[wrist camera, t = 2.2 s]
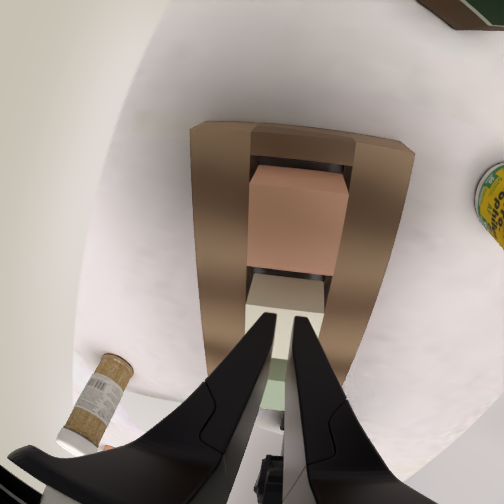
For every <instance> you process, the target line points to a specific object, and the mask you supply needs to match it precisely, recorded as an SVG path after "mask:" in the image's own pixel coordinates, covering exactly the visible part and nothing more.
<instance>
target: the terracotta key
mask: <svg viewBox="0 0 504 504" xmlns="http://www.w3.org/2000/svg"><path fill="white" fill-rule="evenodd" d="M348 197H349V193H348V190H347V187H346V184H345V181H344V178H343V175H342V174H339V173H332V172H324V171H316V170H307V169H298V168H289V167H278V166H267V165H259V166H258V168H257V170H256V172H255V174H254V175H253V177H252V179H251V181H250V183H249V210H248V242H247V266H252V267H260V268H268V269H277V270H285V271H294V272H302V273H311V274H319V275H328V276H333V274H334V270H335V265H336V260H337V256H338V251H339V246H340V241H341V236H342V230H343V225H344V220H345V214H346V209H347V203H348Z"/></svg>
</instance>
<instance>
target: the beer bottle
mask: <svg viewBox="0 0 504 504" xmlns="http://www.w3.org/2000/svg"><path fill="white" fill-rule="evenodd" d="M417 1H419V2H420V3H422V4H423V5H424V6H426V7H427V8H428V9H430V10H431V11H433V12H434V13H435V14H437V15H438V16H439V17H440V18H442V19H443V20H444V21H446V22H447V23H448V24H449V25H450V26H452V27H453V28H454V29H455V30H485V31H504V0H417Z"/></svg>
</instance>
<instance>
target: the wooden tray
mask: <svg viewBox="0 0 504 504" xmlns="http://www.w3.org/2000/svg"><path fill="white" fill-rule="evenodd" d="M190 155H191V182H192V203H193V221H194V237H195V251H196V264H197V277H198V288H199V299H200V310H201V320H202V330H203V339H204V348H205V356H206V365H207V373H208V376H209V375H210V374H211V373H212V371H213V370H214V369H215V368H216V367H217V366H218V365H219V364H220V362H221V361H222V360H223V359H224V358H225V357H226V356H227V354H228V353H229V352H230V351H231V350H232V349H233V348H234V346H235V345H236V344H237V343H238V342H239V341H240V340H241V338H242V337H243V336H244V335H245V311H246V301H247V298H248V294H249V290H250V287H251V283H252V279H253V267H252V266H247V242H248V210H249V183H250V181H251V179H252V177H253V175H254V174H255V172H256V170H257V164H258V156H268V157H279V158H290V159H299V160H308V161H317V162H325V163H333V164H340V165H345V166H344V173H343V178H344V181H345V184H346V187H347V190H348V193H349V197H348V203H347V209H346V214H345V220H344V225H343V230H342V236H341V241H340V246H339V251H338V256H337V260H336V265H335V270H334V274H333V276H328V275H326V276H325V281H324V317H323V321H322V325H321V329H320V333H319V337H318V339H319V341H320V343H321V345H322V347H323V349H324V352H325V354H326V356H327V358H328V360H329V362H330V364H331V366H332V368H333V370H334V372H335V374H336V376H337V378H338V380H339V383H340V385H341V387H342V385H343V382H344V380H345V378H346V376H347V373H348V371H349V369H350V366H351V364H352V362H353V359H354V357H355V354H356V352H357V350H358V347H359V345H360V342H361V340H362V337H363V334H364V332H365V329H366V327H367V324H368V321H369V319H370V316H371V313H372V310H373V307H374V305H375V302H376V299H377V296H378V293H379V290H380V287H381V284H382V281H383V278H384V275H385V272H386V268H387V265H388V262H389V259H390V255H391V252H392V248H393V245H394V241H395V238H396V234H397V231H398V227H399V223H400V219H401V215H402V211H403V207H404V203H405V199H406V194H407V190H408V186H409V181H410V176H411V171H412V166H413V161H414V156H415V153H414V152H413V151H412V150H410V149H409V148H408V147H407V146H405V145H404V144H403V143H401V142H400V141H395V140H390V139H385V138H379V137H374V136H368V135H362V134H356V133H349V132H342V131H335V130H328V129H320V128H311V127H302V126H292V125H280V124H267V123H251V122H229V121H205V122H203V123H201V124H199V125H197V126H195V127H193V128H191V129H190Z"/></svg>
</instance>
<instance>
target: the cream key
mask: <svg viewBox="0 0 504 504" xmlns="http://www.w3.org/2000/svg"><path fill="white" fill-rule="evenodd" d="M264 312H270V313H276V314H277V322H276V330H275V338H274V345H273V351H272V358H278V359H286V360H288V353H289V346H290V338H291V332H292V326H293V320H294V317H295V316H303V317H307V318H308V319H309V321H310V323H311V325H312V327H313V329H314V331H315V333H316V335H317V337H319V333H320V329H321V325H322V321H323V317H324V281H317V280H308V279H299V278H291V277H282V276H274V275H266V274H258V273H254V276H253V279H252V283H251V287H250V290H249V294H248V298H247V301H246V311H245V334H246V333H247V331H248V330H249V329H250V328H251V327H252V326H253V324H254V323H255V322H256V321H257V320H258V318H259V317H260V316H261V315H262V314H263V313H264Z"/></svg>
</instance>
